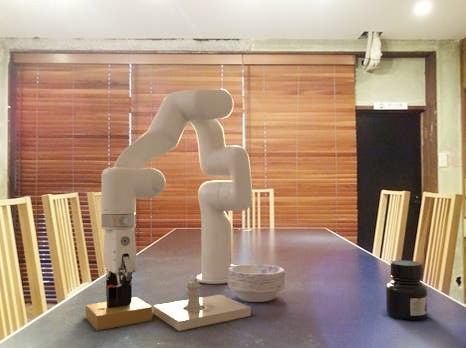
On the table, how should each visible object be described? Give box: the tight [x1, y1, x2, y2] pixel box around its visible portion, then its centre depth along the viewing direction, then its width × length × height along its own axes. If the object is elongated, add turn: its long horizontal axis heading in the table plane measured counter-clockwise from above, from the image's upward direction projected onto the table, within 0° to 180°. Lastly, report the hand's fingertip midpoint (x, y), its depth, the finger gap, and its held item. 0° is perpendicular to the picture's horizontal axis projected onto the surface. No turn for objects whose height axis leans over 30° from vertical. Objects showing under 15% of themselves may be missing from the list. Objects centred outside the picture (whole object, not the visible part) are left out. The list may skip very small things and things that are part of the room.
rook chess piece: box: [185, 280, 203, 311], centre depth 99 cm, size 4×4×8 cm
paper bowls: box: [227, 263, 286, 303], centre depth 114 cm, size 15×15×8 cm
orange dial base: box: [85, 296, 153, 331], centre depth 97 cm, size 12×10×3 cm
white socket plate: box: [153, 294, 251, 332], centre depth 100 cm, size 18×14×2 cm
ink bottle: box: [385, 259, 428, 321], centre depth 99 cm, size 10×9×12 cm
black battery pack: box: [106, 285, 130, 308], centre depth 97 cm, size 5×2×5 cm, turn 123°
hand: (118, 299), depth 97 cm, fingers open, 7 cm apart
